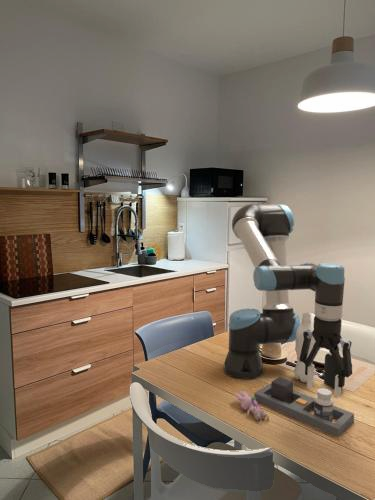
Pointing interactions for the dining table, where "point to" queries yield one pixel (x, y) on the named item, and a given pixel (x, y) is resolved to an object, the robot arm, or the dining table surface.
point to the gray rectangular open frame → (301, 406)
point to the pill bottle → (324, 404)
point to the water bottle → (303, 327)
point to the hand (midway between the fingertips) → (323, 390)
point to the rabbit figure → (251, 405)
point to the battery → (330, 371)
